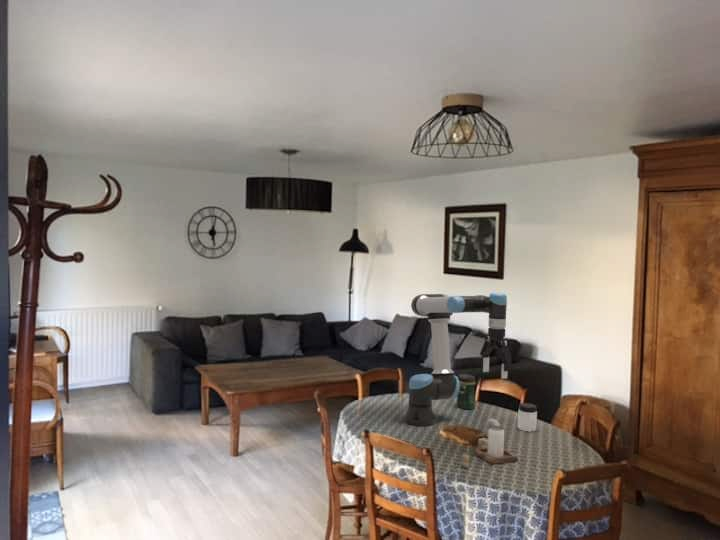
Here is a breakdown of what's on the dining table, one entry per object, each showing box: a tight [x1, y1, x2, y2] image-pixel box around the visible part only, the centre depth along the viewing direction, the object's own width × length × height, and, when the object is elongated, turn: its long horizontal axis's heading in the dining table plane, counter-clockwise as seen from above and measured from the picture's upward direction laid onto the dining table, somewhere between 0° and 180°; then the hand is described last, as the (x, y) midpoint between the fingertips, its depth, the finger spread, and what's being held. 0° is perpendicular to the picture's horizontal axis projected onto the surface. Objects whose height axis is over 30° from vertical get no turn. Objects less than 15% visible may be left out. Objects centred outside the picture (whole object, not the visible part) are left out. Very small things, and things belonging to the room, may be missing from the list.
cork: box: [460, 453, 470, 469], centre depth 227 cm, size 3×3×4 cm
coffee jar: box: [456, 373, 477, 410], centre depth 314 cm, size 10×8×19 cm
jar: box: [517, 402, 538, 433], centre depth 279 cm, size 9×8×12 cm
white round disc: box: [484, 418, 502, 438], centre depth 260 cm, size 10×4×10 cm, turn 26°
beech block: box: [477, 437, 488, 449], centre depth 249 cm, size 4×4×4 cm
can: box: [487, 425, 505, 458], centre depth 238 cm, size 6×6×12 cm
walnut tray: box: [473, 447, 519, 466], centre depth 238 cm, size 13×13×2 cm
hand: (494, 375), depth 253 cm, fingers open, 13 cm apart
